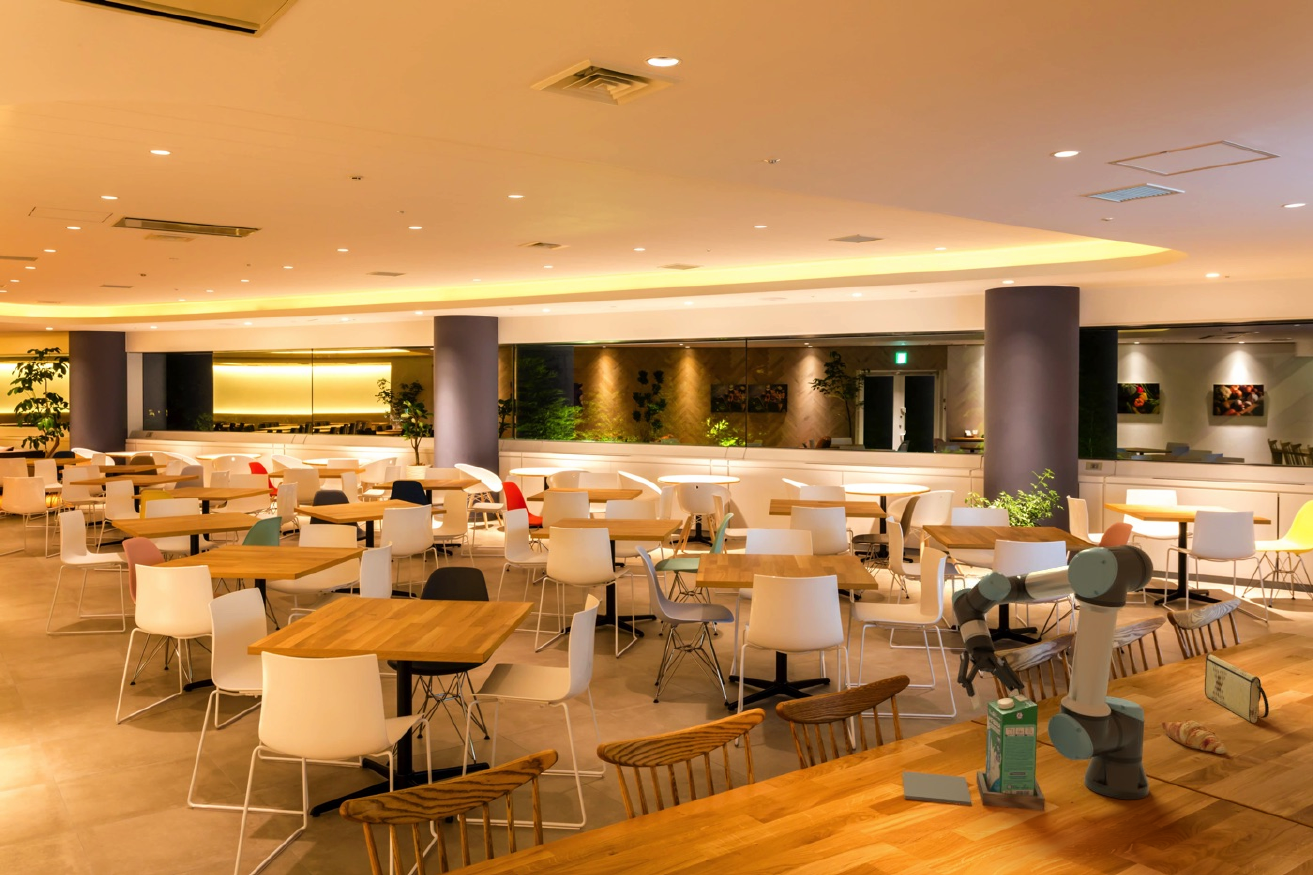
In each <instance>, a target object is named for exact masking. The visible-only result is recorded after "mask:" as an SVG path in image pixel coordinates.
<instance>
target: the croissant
mask: <svg viewBox="0 0 1313 875" xmlns="http://www.w3.org/2000/svg"><path fill="white" fill-rule="evenodd" d="M1161 727H1162V729H1163V730H1164V731H1165V732H1166V734H1167V736H1168V737H1169V738H1170V739H1172V740H1173V741H1175V742H1176V743H1178V744H1181V745H1183V746H1185V747H1188V748H1191V749H1195V750H1201V751H1205V752H1212V753H1214V754H1219V755H1220V754H1223V755H1224V754H1226V753H1227V748H1226V746H1225V744H1224V742H1223V741H1222V740H1220V739H1219V737H1218V736H1217V735H1216V733H1215V732H1214V731H1210V730H1208V729H1207V728H1206V726H1205V725H1203V724H1202V723H1199V722H1197V721H1195V720H1192V719H1186V720H1184V721H1178V722H1174V721H1173V722H1172V721H1171V722H1170V721H1169V722H1162V724H1161Z"/></svg>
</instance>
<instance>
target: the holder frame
mask: <svg viewBox="0 0 1313 875" xmlns="http://www.w3.org/2000/svg"><path fill="white" fill-rule="evenodd" d="M985 773H986V771H981V770H976V785H978V786H977V789H978V793H979V795H980V800H981V803H982V806H990V807H992V806H993V807H999V808H1000V807H1001V808H1010V809H1021V810H1031V811H1032V810H1033V811H1042V812H1045V809H1046V808H1045V806H1046V805H1045V802H1046V801H1045V800H1046V799H1045V795H1044V794H1043V791H1042V790H1041V787H1040V784H1039V783H1038V780H1037V777H1036V776H1035V796H1029V795H1018V794H1008V793H997V792H988V791H987V787H986V784H985Z"/></svg>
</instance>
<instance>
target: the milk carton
mask: <svg viewBox="0 0 1313 875" xmlns="http://www.w3.org/2000/svg"><path fill="white" fill-rule="evenodd" d="M1038 709H1039V706H1038V704H1037V703H1035V702H1034V701H1033V700H1031V699H1029V698H1028V697H1026V696H1025V695H1023V694H1022V693H1020V694H1019V695H1016V696H1012V697H1010V696H1008V697H1005V698H1000V699H998V700H994V701H991V702H987V710H986V711H987V712H986V713H987V715H986V716H987V718H986V741H985V742H986V743H985V744H986V745H985V746H986V747H985V748H986V749H985V752H986V753H985V772H986V773H985V784H986V787H987V791H988V792H997V793H1008V794H1018V795H1029V796H1035V777H1036V769H1037V768H1036V766H1037V738H1038V737H1037V736H1038V735H1037V734H1038V714H1039V713H1038V712H1039V710H1038Z"/></svg>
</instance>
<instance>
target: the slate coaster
mask: <svg viewBox="0 0 1313 875" xmlns="http://www.w3.org/2000/svg"><path fill="white" fill-rule="evenodd" d="M966 779H967V778H966V776H959V775H958V776H957V775H949V774H948V775H947V774H937V773H928V772H927V773H925V772H917V771H904V770H902V781H903V782H902V783H903V791H904V792H903V793H904V799H906V800H914V801H915V800H916V801H926V802H934V801H935V803H936V802H937V803H944V802H950V803H949V804H955V803H958V805H965V804H966V805H967V806H972V799H971V798H972V797H971V794H970V791H969V787H968V782H967V780H966ZM959 803H960V804H959ZM966 805H965V806H966Z"/></svg>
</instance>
